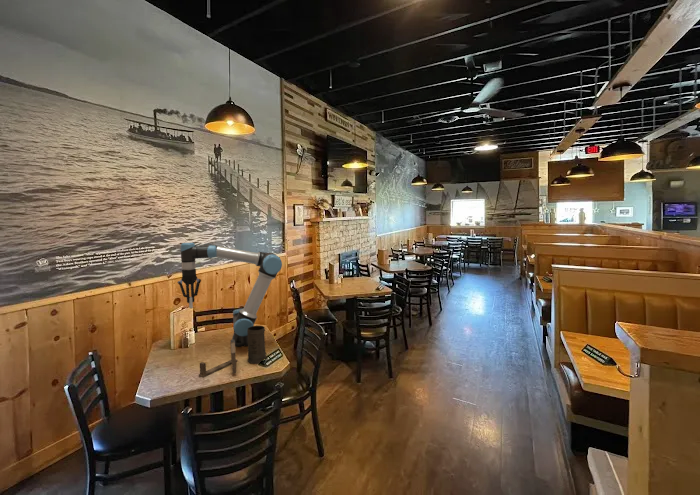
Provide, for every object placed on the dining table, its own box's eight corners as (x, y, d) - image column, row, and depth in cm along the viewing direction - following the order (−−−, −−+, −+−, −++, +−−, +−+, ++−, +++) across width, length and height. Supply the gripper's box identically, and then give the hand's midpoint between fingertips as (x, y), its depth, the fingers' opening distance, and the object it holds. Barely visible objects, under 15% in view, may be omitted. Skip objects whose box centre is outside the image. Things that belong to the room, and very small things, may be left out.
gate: (231, 361, 196) (230, 342, 195) (235, 360, 196) (234, 341, 195) (232, 373, 180) (231, 353, 179) (236, 373, 181) (235, 352, 179)
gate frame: (233, 360, 200) (232, 338, 199) (237, 361, 198) (236, 340, 197) (198, 376, 180) (197, 352, 179) (202, 377, 178) (201, 353, 177)
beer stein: (265, 363, 195) (264, 329, 194) (246, 365, 193) (245, 330, 192) (267, 354, 210) (266, 322, 209) (249, 355, 208) (249, 323, 208)
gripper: (199, 267, 207) (201, 304, 209) (175, 269, 199) (177, 308, 201) (202, 268, 201) (204, 307, 203) (177, 270, 193) (180, 311, 195)
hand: (191, 307), depth 202 cm, fingers closed
